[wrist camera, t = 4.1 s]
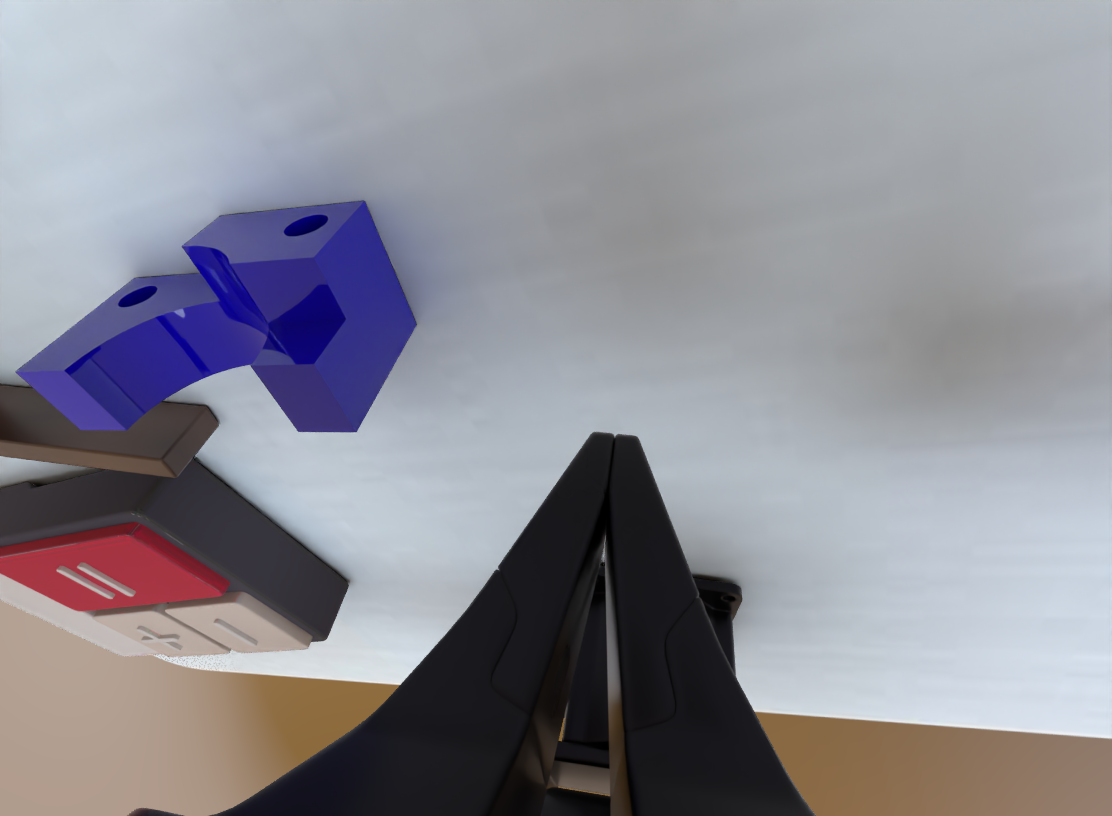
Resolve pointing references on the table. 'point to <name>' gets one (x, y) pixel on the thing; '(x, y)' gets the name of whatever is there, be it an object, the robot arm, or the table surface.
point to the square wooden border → (102, 436)
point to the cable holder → (243, 323)
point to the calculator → (161, 566)
